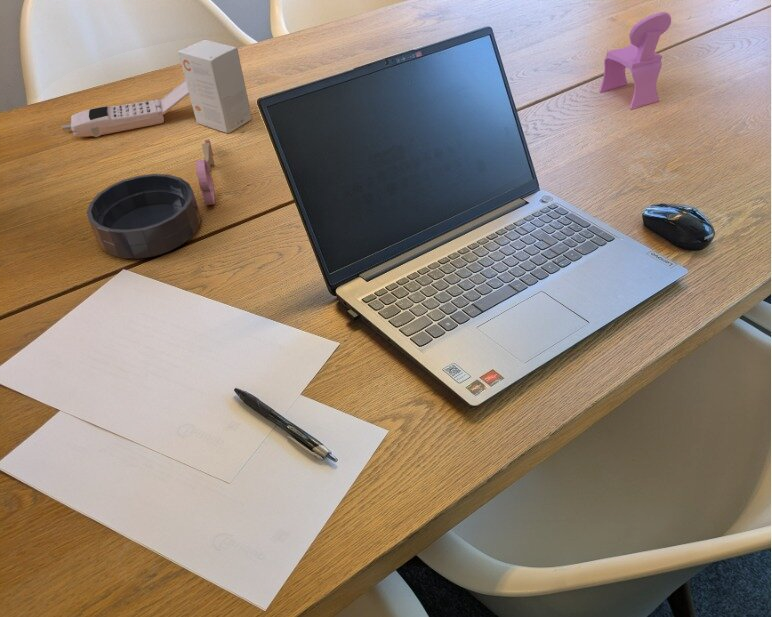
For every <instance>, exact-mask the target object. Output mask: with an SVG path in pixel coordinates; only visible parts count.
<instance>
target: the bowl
mask: <svg viewBox="0 0 772 617" xmlns="http://www.w3.org/2000/svg"><path fill="white" fill-rule="evenodd" d="M195 196H196V195H195V192H194V190H193V188H192V186H191V184H190V183H189V182H188V181H186V180H184V179H183V178H182V177H179V176H177V175H172V174H166V173H150V174H140V175H136V176H132V177H128V178H125V179H122V180H120V181H118V182H115V183H113V184H111V185H109V186H107V187H106V188H104V189H103V190H102V191H100V192H98V193H97V194H96V195H95V196H94V197H93V199H92V200H91V201H90V202H89V204H88V207H87V210H86V215H87V216H86V217H87V219H88V222H89V224H90V227H91V229H92V231H93V233H94V236H95V238H96V240H97V243H98V245H99V247H100V248H101V249H102V250H103V251H104V252H106V254H108V255H111V256H115V257H118V258H121V259H130V260H131V259H133V260H135V259H136V260H139V259H148V258H154V257H158V256H161V255H164V254H167V253H170V252H171V251H174V250H176V249H178V248H179V247H181V246H182V245H183V244H185V243H186V242H187V241H188V240H190V239H191V238H192V237H193V236H194V235H195V233H196V232H197V230H198V229H199V227H200V222H201V214H200V210H199V207H198V204H197V200H196V197H195Z"/></svg>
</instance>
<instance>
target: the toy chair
mask: <svg viewBox="0 0 772 617" xmlns="http://www.w3.org/2000/svg"><path fill="white" fill-rule="evenodd" d="M671 24H672V17H671V14H670V13H669V12H665V11H662V12H658V13H654V14H653V13H652V14H651V15H649V16H647V17H644V18H642V19H641V20H640V21H637V23H636V24H634V25H633V27H632V28H631V29H630V32H629V43H630V44H629V45H627V46H625V47H621V48H617V49H611V50H609V51H606V56H605V57H604V59H603V64H604V65H603V66H604V68H603V69H604V70H603V76H602V77H603V78H602V81H601V85H600V88H599V93H604V92H607V91H610V90H613V89H618V88H621V87H623V86H627V85H628V80H627V76H626V68H627V69H628V70H629V71H630V72H631V73H630V74H631V76H632V80H633V84H634V91H633V96H632V99H631V102H630V105H629V110H634V109H638V108H641V107H644V106H647V105H651V104H653V103H654V104H655V103H657V102H659V101H660V99H659V95H658V91H657V82H658V78H659V75H660V72H661V69H662V64H663V63H662V58H663V55H661V54H660V53H657V52H656V49H657V46H658V43H659V40H660V37H661V36H662V35H663V34H664V33H666V32H667V31H668V29H670V27H671Z"/></svg>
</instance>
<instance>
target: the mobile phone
mask: <svg viewBox="0 0 772 617" xmlns="http://www.w3.org/2000/svg"><path fill="white" fill-rule="evenodd" d="M188 96H190V95H189V91H188V87H187V83H186V80H185V79H184V80H183V81H182V82H181V83H179V84H178V85H177V86H176V87H175V88H173V89H172V90H170V92H168V93H167V94H166V95H165V96H163V97H162V98H161V99H157V98H155V99H152V100H146V101H139V102H133V103H125V104H121V105H120V104H119V105H113V106H110V105H103V106H98V107H92V108H90V109H89V108H88V109H85V110H82V111H79V112H76V113H73V114H72V115H71V116H70V123H69V124H65V125H62V126H61V129H62V131H67V130H71V131H72V134H73V136H74V137H76V138H80V137H81V138H82V137H83V138H84V137H85V138H86V137H95V138H98V137H100V136H103V135H109V134H115V133H119V132H124V131H131V130H135V129H139V128H145V127H149V126H155V125H160V124H161V125H162V124H164V123H165V118H164V115H165V114H166V113H168V112H169V111H170V110H171V109H172V108H174V107H175V106H176V105H178V104H179V103H180V102H181V101H182V100H184V99H185V98H186V97H188Z"/></svg>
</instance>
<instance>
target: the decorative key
mask: <svg viewBox="0 0 772 617" xmlns="http://www.w3.org/2000/svg"><path fill="white" fill-rule="evenodd" d="M201 147H202V152H203V159H199V160H195V172H196V177H197V181H198V185H199V189H200V192H202V194H201V195H202V198H203V203H204V205H205V206H211V205H215V204H216V198H215V192H214V191H215V190H214V182H213V181H214V180H213V178H212V175H211V173H212V169H211V167H214V166H215V161H214V157H213V155H214V153H213V148H212V144H211V140H210V139H205V140H204V143H201Z"/></svg>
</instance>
